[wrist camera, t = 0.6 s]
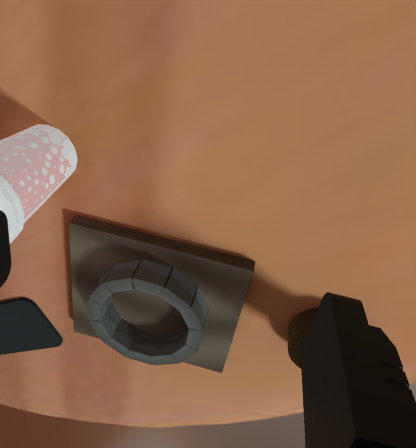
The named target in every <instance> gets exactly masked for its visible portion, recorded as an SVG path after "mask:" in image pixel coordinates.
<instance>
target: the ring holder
mask: <svg viewBox="0 0 416 448" xmlns="http://www.w3.org/2000/svg"><path fill="white" fill-rule="evenodd" d="M69 242H70V262H71V281H72V301H73V320H74V332H78V333H81V334H85V335H88V336H92V337H96V338H99V339H101V341H103V340H104V341H103V342H104V343H105V344H107V345H108V346H110V347H111V348H113V349H114V350H116V351H117V352H119V353H120V354H122V355H123V356H124V357H126V356H127V358H130V359H133V360H137V361H140V362H144V363H147V364H151V365H153V364H154V365H164V364H177V363H179V362H180V363H181V362H185V363H188V364H192V365H195V366H199V367H203V368H206V369H210V370H213V371H217V372H220V373H222V371H223V368H224V364H225V361H226V358H227V355H228V352H229V348H230V345H231V342H232V339H233V336H234V332H235V329H236V326H237V323H238V320H239V316H240V313H241V310H242V307H243V304H244V300H245V297H246V294H247V291H248V288H249V284H250V281H251V278H252V275H253V272H254V265H255V262H253V261H249V260H246V259H242V258H238V257H234V256H230V255H226V254H222V253H218V252H214V251H211V250H207V249H203V248H199V247H195V246H191V245H187V244H183V243H180V242H176V241H172V240H168V239H164V238H160V237H156V236H152V235H148V234H145V233H141V232H137V231H133V230H129V229H125V228H121V227H117V226H114V225H110V224H106V223H102V222H98V221H94V220H90V219H86V218H82V217H79V216H75V217H74V218H73V219H72V220H71V221H70V222H69Z"/></svg>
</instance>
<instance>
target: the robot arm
mask: <svg viewBox="0 0 416 448" xmlns="http://www.w3.org/2000/svg"><path fill="white" fill-rule="evenodd" d="M10 269H11V253H10V242H9V230H8V220H7V216H6V214H5V213H4V212H3V211H1V210H0V287H1V286H2V285H3V284H4V283H5V281H6V280H7V278H8V276H9V273H10ZM301 369H302V387H303V406H304V424H305V443H306V448H416V402H415V399H414V396H413V393H412V391H411V390H410V389H409V382H408V380H407V377H406V374H405V372H403V366H402V363H401V360H400V357H399V355H398V352H397V349H396V347H395V346H394V344H393V343H392V342H391V341H390V340H389V338H388V337H387V336H386V335H385V333H384V332H383V331H382V330H381V328H378V327H374V326H370V325H368V321H367V318H366V314H365V311H364V308H363V304H362V302H361V301H360V300H357V299H353V298H349V297H345V296H341V295H337V294H333V293H329V292H327V293H326V294H325V295H324V296H323V298H322V301H321V303H320V306H319V308H318V311H317V313H316V316H315V318H314V321H313V323H312V326H311V328H310V331H309V333H308V336H307V338H306V341H305V344H304V348H303V354H302V363H301Z"/></svg>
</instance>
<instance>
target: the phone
mask: <svg viewBox="0 0 416 448" xmlns="http://www.w3.org/2000/svg"><path fill="white" fill-rule="evenodd" d="M62 342H63V339H62V337H61V335H60V334H59V333H58V331H57V330H56V329H55V328H54V326H53V325H52V324H51V322H50V321H49V320H48V319H47V317H46V316H45V315H44V313H43V312H42V311H41V309H40V308H39V307H38V306H37V304H36V303H35V302H33V301H32V300H30V299H28V298H18V299H13V300H8V301H3V302H0V355H1V354H8V353H16V352H23V351H30V350H37V349H44V348H51V347H57V346H60V345H61V343H62Z"/></svg>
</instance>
